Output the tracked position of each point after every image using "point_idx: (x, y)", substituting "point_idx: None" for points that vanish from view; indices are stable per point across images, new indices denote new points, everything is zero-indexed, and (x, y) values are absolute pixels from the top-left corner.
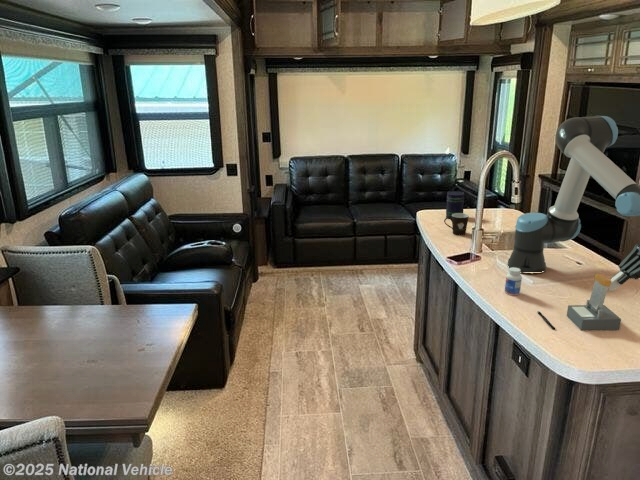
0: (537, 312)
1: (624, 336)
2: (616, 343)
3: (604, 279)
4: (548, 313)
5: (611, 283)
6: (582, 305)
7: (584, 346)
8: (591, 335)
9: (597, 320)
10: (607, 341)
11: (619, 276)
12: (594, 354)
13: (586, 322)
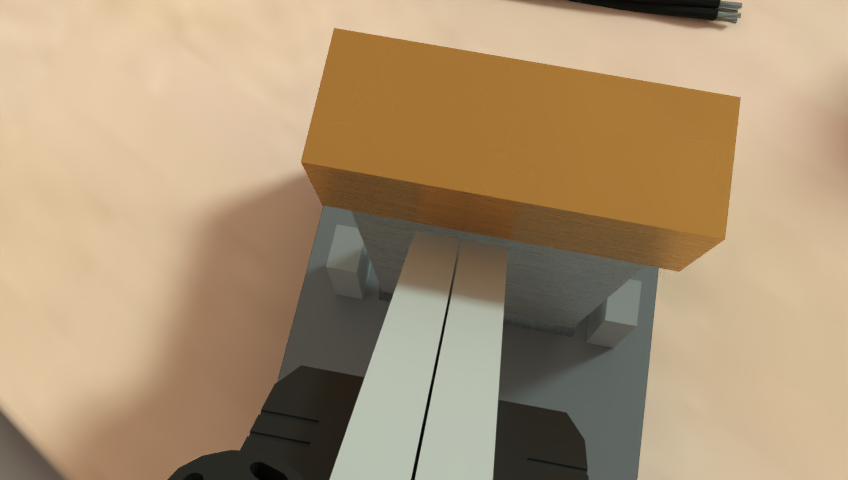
0: (727, 6)
1: (164, 447)
2: (92, 285)
3: (387, 50)
4: (704, 82)
5: (398, 289)
6: (648, 287)
7: (144, 27)
8: (269, 179)
9: (320, 231)
10: (145, 236)
11: (356, 412)
12: (29, 23)
13: None
